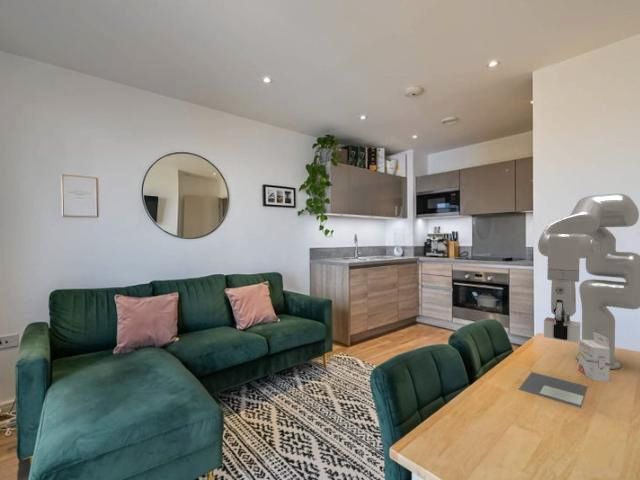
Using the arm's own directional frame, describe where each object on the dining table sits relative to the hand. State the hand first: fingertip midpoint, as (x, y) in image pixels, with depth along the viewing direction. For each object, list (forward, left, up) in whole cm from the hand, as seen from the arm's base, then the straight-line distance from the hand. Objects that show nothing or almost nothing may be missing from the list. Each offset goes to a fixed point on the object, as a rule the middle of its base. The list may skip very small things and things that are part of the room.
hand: (561, 336), depth 94 cm
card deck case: (0, 0, -1) cm, 1 cm away
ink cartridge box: (-25, +6, -19) cm, 31 cm away
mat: (-4, -2, -18) cm, 19 cm away
